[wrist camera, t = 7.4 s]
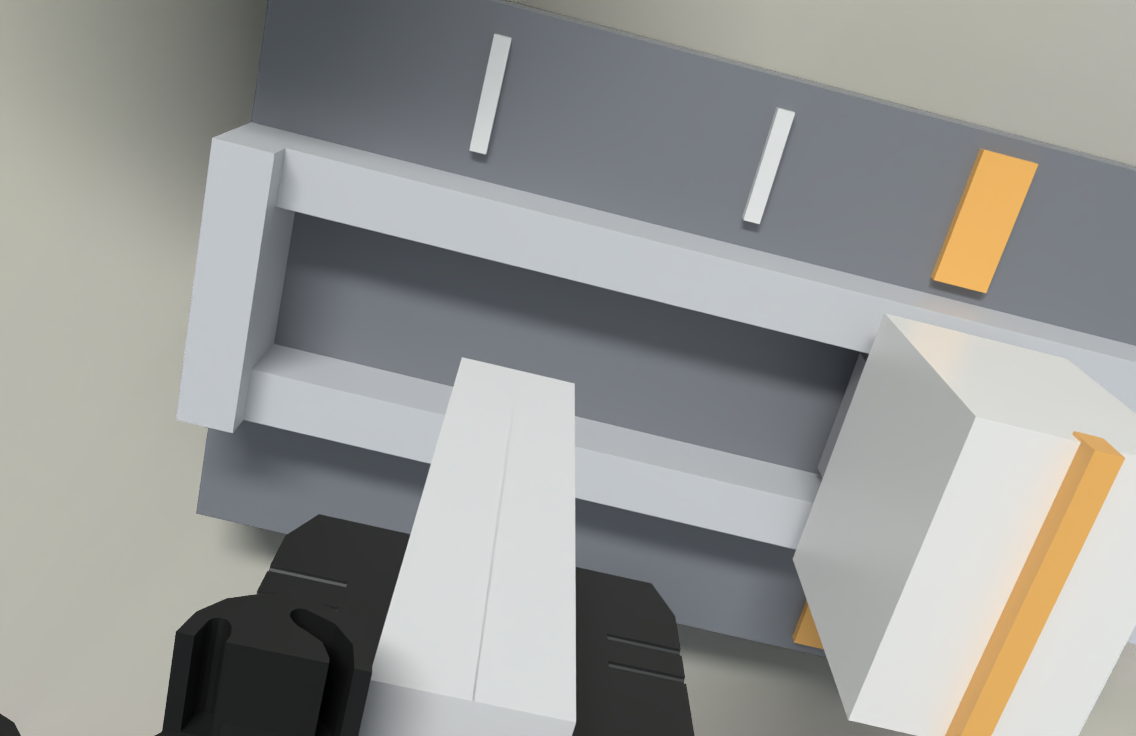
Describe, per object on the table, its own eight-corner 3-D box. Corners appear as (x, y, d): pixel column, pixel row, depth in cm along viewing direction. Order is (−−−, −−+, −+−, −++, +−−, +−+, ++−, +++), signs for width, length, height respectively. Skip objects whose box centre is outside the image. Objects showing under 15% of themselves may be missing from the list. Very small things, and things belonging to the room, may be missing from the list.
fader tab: (777, 519, 20) (852, 739, 14) (861, 284, 19) (987, 424, 13) (932, 555, 21) (1070, 788, 15) (1029, 326, 19) (1229, 483, 13)
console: (228, 470, 23) (157, 565, 19) (307, -52, 19) (237, -61, 15) (1000, 649, 24) (1075, 771, 20) (1217, 187, 20) (1358, 234, 17)
